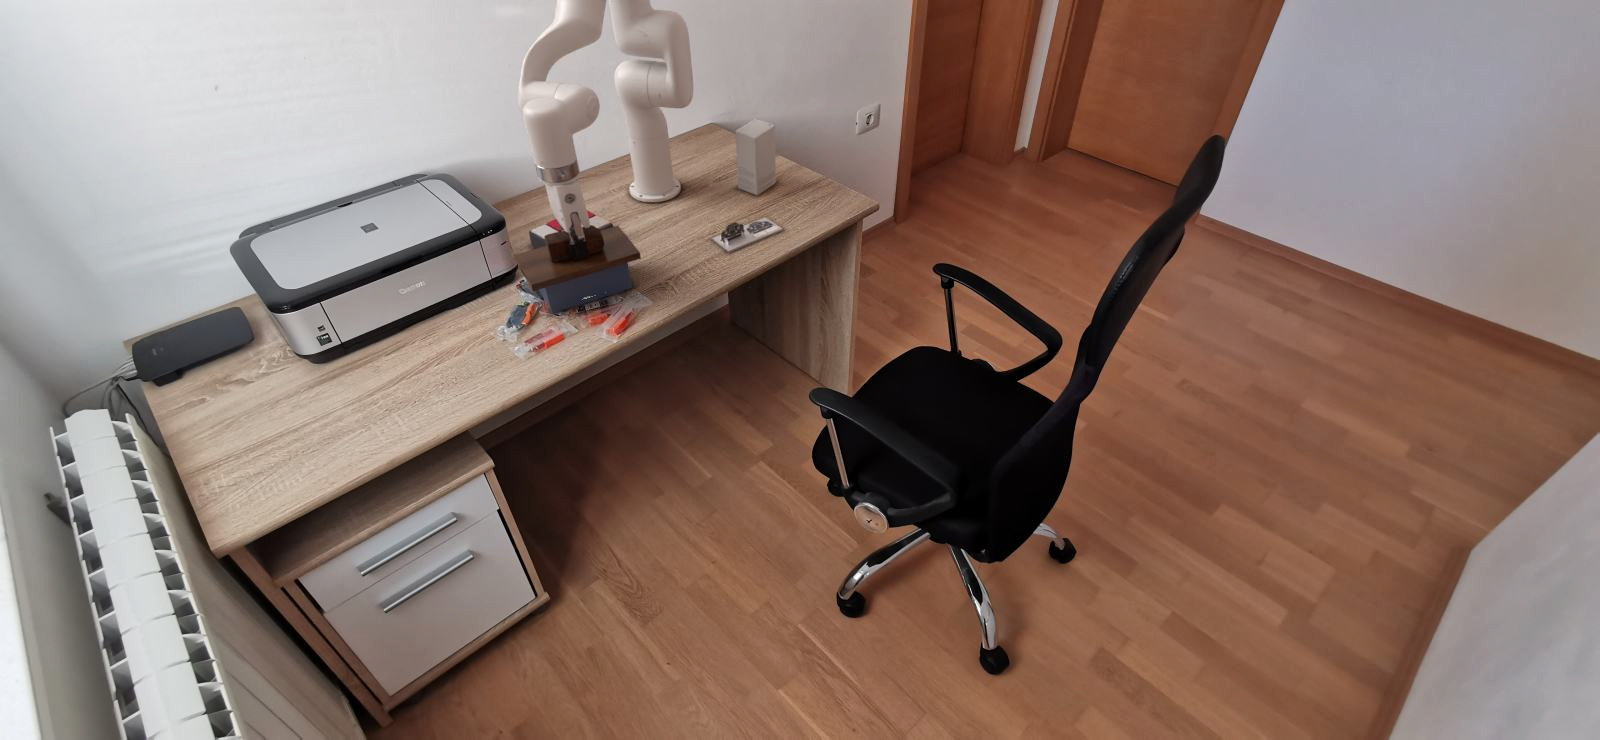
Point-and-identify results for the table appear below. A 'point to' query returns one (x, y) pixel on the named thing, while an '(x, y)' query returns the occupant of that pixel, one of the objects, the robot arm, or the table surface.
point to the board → (550, 273)
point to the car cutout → (745, 233)
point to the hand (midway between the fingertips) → (576, 252)
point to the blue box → (587, 288)
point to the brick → (560, 242)
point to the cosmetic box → (756, 156)
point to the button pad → (554, 227)
